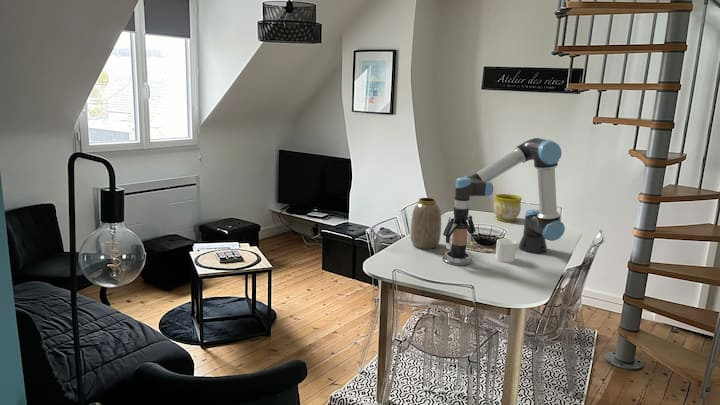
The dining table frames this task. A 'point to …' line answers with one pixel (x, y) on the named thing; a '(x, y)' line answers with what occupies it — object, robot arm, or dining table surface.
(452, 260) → the ring
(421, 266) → the dining table surface
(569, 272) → the dining table surface
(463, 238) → the travel mug
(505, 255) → the mug
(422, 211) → the vase
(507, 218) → the flowerpot
